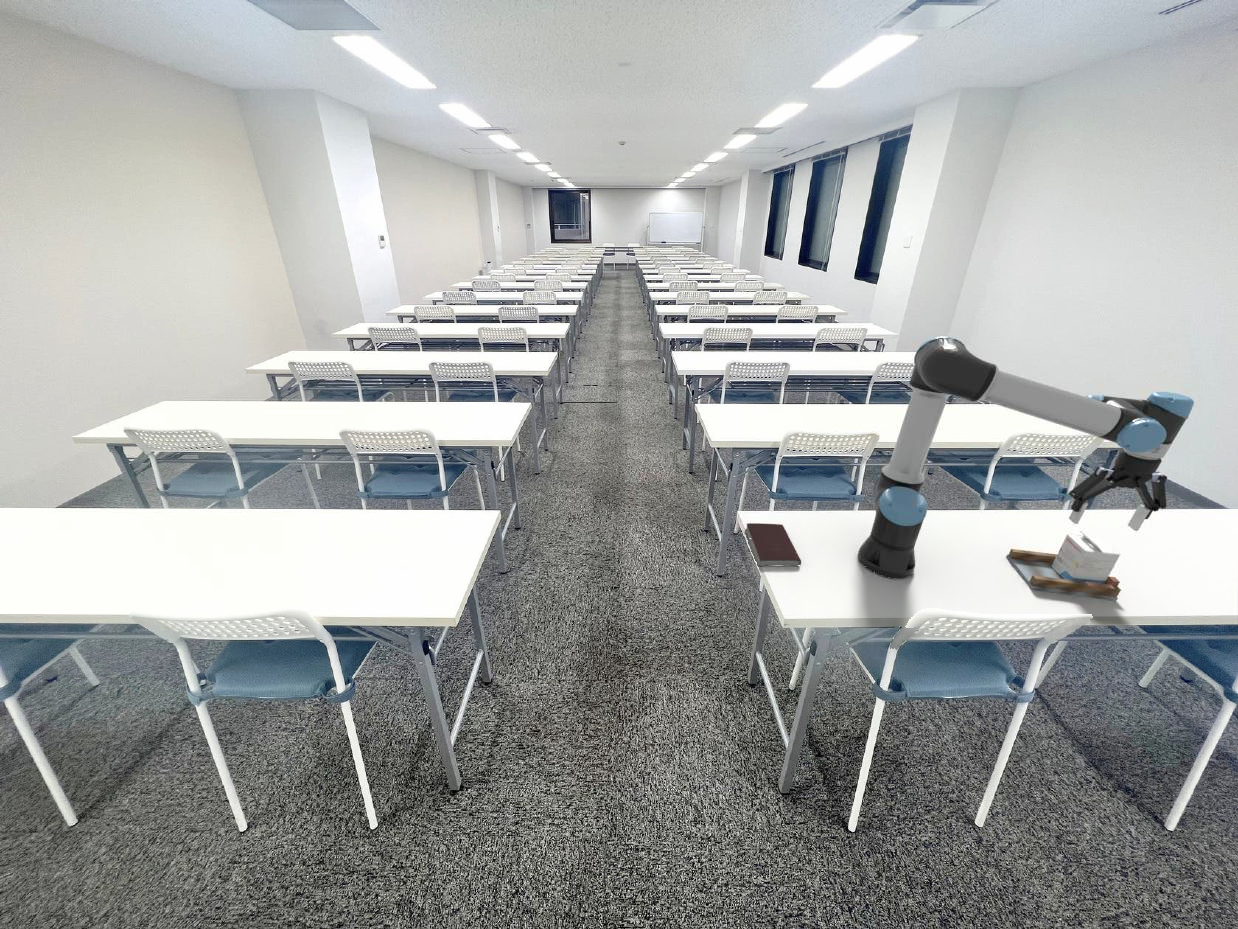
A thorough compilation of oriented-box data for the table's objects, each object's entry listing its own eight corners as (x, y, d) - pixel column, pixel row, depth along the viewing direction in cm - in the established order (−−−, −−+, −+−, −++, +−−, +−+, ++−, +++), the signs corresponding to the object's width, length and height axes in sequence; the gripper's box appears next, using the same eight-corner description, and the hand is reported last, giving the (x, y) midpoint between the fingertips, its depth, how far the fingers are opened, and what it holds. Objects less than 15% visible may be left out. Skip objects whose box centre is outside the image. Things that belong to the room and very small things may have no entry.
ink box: (1102, 589, 132) (1125, 550, 126) (1067, 585, 133) (1089, 546, 127) (1082, 569, 139) (1103, 531, 133) (1050, 565, 141) (1069, 528, 135)
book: (782, 531, 160) (783, 523, 159) (800, 568, 143) (802, 559, 141) (744, 531, 160) (745, 523, 159) (758, 568, 143) (760, 559, 142)
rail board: (1031, 589, 133) (1038, 575, 131) (1006, 557, 146) (1012, 543, 144) (1116, 601, 129) (1125, 586, 127) (1082, 566, 142) (1089, 553, 140)
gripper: (1092, 455, 118) (1056, 525, 128) (1215, 466, 113) (1169, 539, 123) (1074, 443, 125) (1041, 511, 135) (1190, 452, 120) (1147, 523, 129)
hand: (1102, 524), depth 129 cm, fingers open, 13 cm apart
